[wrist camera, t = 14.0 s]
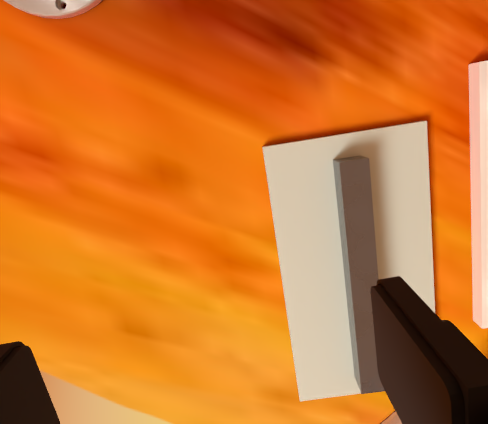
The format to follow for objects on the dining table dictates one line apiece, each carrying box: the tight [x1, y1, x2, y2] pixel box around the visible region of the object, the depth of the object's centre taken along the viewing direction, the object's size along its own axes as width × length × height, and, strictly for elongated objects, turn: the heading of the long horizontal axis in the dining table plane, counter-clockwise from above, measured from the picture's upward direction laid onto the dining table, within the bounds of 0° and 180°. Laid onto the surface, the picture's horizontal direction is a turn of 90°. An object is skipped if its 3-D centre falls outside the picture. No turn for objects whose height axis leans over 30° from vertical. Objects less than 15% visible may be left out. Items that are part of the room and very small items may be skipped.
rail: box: [333, 155, 385, 394], centre depth 34 cm, size 22×2×2 cm, turn 9°
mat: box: [263, 121, 435, 401], centre depth 36 cm, size 26×14×1 cm, turn 9°
